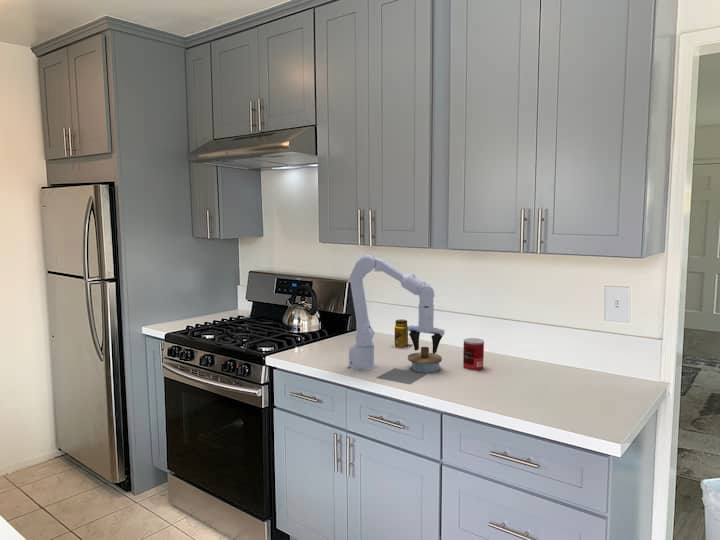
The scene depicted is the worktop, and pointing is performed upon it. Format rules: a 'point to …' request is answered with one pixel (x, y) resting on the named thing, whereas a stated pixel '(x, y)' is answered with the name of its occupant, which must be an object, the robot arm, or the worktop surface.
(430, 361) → the lid
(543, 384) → the worktop surface
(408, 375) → the mat
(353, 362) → the robot arm
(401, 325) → the condiment
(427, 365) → the bowl
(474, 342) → the canned food
